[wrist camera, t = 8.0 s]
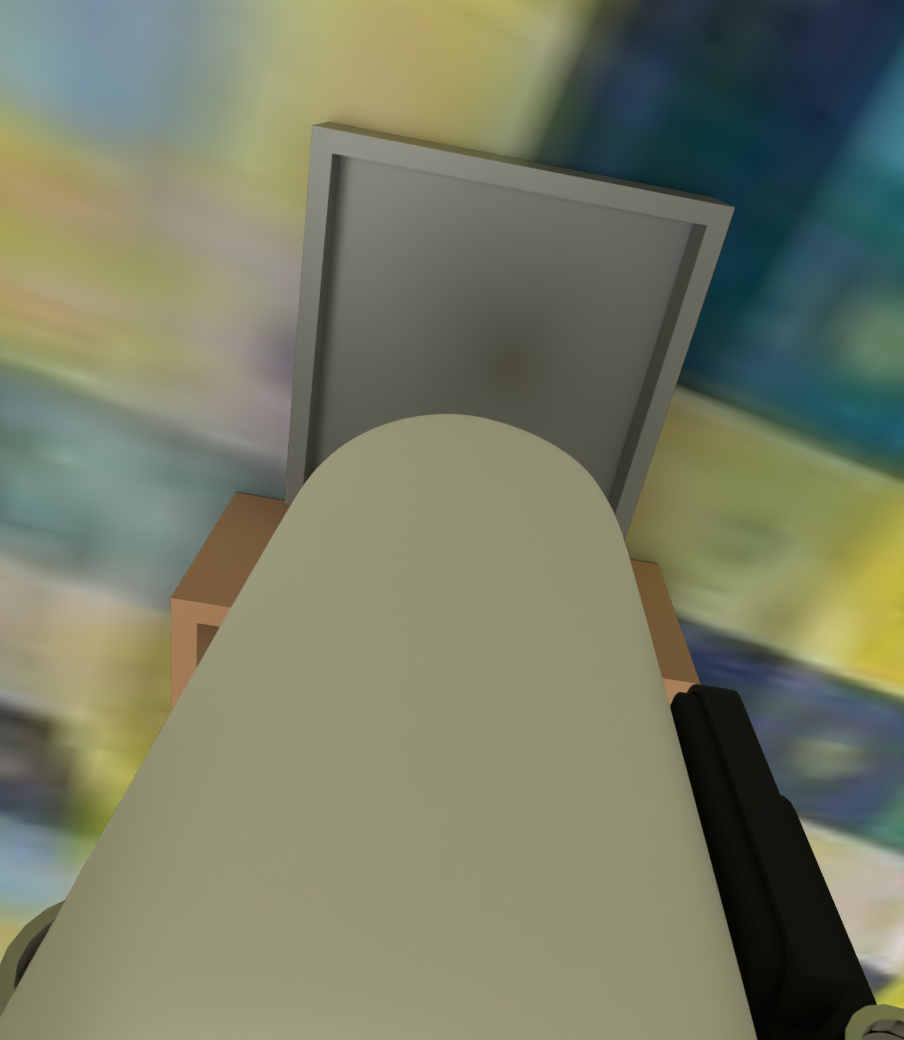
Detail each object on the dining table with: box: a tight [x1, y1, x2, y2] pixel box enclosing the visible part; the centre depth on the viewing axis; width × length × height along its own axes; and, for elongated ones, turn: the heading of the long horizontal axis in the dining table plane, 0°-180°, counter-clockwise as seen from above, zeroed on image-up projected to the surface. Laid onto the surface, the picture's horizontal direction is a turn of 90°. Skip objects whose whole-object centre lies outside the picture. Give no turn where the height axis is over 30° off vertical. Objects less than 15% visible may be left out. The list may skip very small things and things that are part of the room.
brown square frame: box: [171, 492, 700, 710], centre depth 31 cm, size 17×17×7 cm
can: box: [0, 414, 757, 1040], centre depth 10 cm, size 6×6×12 cm
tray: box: [284, 122, 735, 540], centre depth 26 cm, size 12×12×2 cm
